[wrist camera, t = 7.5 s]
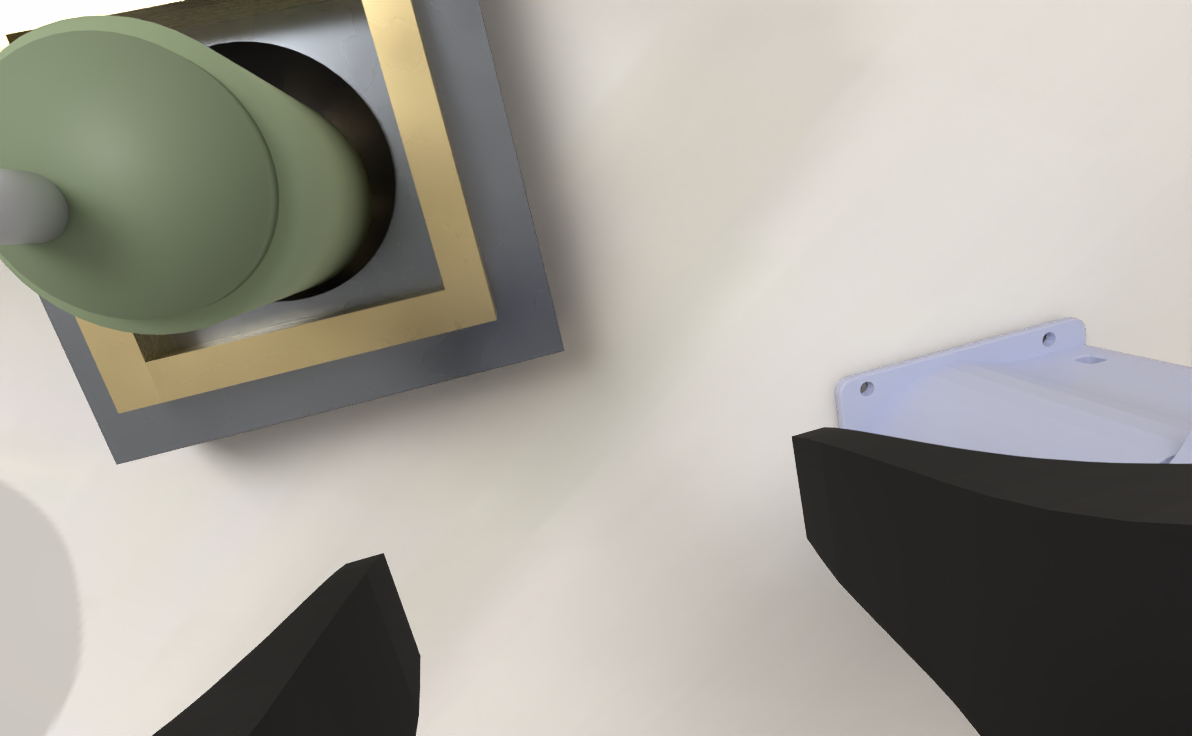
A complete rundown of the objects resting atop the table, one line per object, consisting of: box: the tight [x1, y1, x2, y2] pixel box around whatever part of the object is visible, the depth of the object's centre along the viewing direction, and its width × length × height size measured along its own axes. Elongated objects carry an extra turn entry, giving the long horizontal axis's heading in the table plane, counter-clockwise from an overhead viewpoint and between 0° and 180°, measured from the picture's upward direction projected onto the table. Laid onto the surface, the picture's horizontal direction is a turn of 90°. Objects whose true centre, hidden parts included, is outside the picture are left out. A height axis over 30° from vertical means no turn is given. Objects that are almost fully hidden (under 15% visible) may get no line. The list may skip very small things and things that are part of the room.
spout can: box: [0, 15, 372, 335], centre depth 11 cm, size 5×5×8 cm
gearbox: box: [0, 0, 564, 464], centre depth 16 cm, size 15×12×4 cm
